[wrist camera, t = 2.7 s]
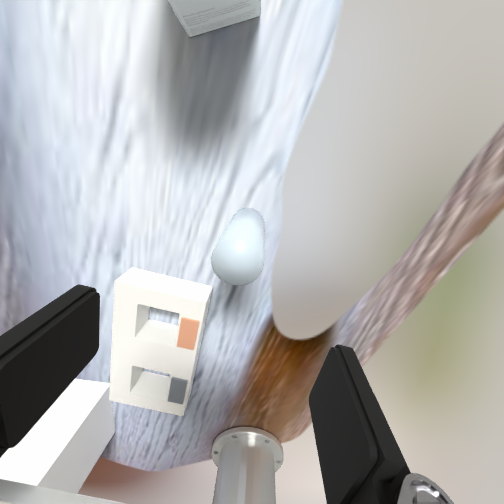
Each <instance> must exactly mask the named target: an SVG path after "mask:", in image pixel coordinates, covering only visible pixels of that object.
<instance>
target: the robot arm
mask: <svg viewBox="0 0 504 504" xmlns="http://www.w3.org/2000/svg"><path fill="white" fill-rule="evenodd" d="M99 315H100V295H99V293H97V292H96V289H95V288H92V287H88V286H84V285H76V286H75V287H73V288H72V289H70V290H69V291H67V292H66V293H64V294H63V295H61V296H60V297H58V298H57V299H55V300H54V301H52V302H51V303H49V304H48V305H46V306H45V307H43V308H42V309H40V310H39V311H37V312H36V313H34V314H33V315H31V316H30V317H28V318H27V319H25V320H24V321H22V322H21V323H19V324H18V325H16V326H15V327H13V328H12V329H10V330H9V331H7V332H6V333H4V334H3V335H1V336H0V458H1V457H2V455H3V454H4V453H5V452H6V451H7V450H8V449H9V448H13V447H15V446H16V445H17V444H18V443H19V442H20V441H21V440H22V439H23V438H24V437H25V436H26V434H27V433H28V432H29V431H30V430H31V429H32V428H33V426H34V425H35V424H36V423H37V422H38V421H39V419H40V418H41V417H42V416H43V415H44V414H45V413H46V411H47V410H48V409H49V408H50V407H51V406H52V404H53V403H54V402H55V401H56V400H57V399H58V398H59V396H60V395H61V394H62V393H63V392H64V391H65V390H66V388H67V387H68V386H69V385H70V384H71V383H72V381H73V380H74V379H75V378H76V377H77V376H78V375H79V373H80V372H81V371H82V370H83V369H84V368H85V366H86V365H87V364H88V363H89V362H90V361H91V360H92V358H93V357H94V356H95V355H96V353H97V351H98V348H99ZM309 406H310V411H311V417H312V422H313V428H314V433H315V439H316V445H317V450H318V456H319V462H320V467H321V473H322V478H323V484H324V489H325V494H326V500H327V504H454V503H453V501H452V500H451V499H450V498H449V497H448V495H447V494H446V493H445V492H444V491H443V490H442V489H441V488H440V487H439V486H438V485H437V484H436V483H434V482H433V481H431V480H430V479H429V478H427V477H425V476H423V475H420V474H416V473H411V472H410V470H409V468H408V466H407V464H406V462H405V459H404V458H403V455H402V453H401V451H400V449H399V447H398V444H397V442H396V440H395V438H394V436H393V434H392V431H391V429H390V427H389V425H388V423H387V421H386V418H385V416H384V414H383V412H382V410H381V408H380V405H379V403H378V401H377V399H376V397H375V395H374V393H373V392H372V389H371V387H370V385H369V383H368V380H367V378H366V376H365V374H364V372H363V369H362V367H361V365H360V363H359V361H358V359H357V356H356V354H355V352H354V350H353V349H352V348H351V347H346V346H342V345H336V346H335V348H334V347H332V348H331V349H330V350H329V353H328V355H327V357H326V359H325V361H324V364H323V366H322V368H321V370H320V373H319V375H318V377H317V379H316V381H315V384H314V386H313V388H312V390H311V392H310V396H309ZM211 453H212V458H213V461H214V463H215V464H216V466H217V467H218V471H217V478H216V484H215V491H214V498H213V503H212V504H276V496H275V472H276V471H277V470H278V469H279V468H280V467H281V465H282V463H283V449H282V446H281V444H280V442H279V441H278V440H277V438H275V437H274V436H273V435H272V434H270V433H268V432H266V431H264V430H261V429H258V428H254V427H236V428H231V429H229V430H226V431H224V432H223V433H221V434H220V435H219V436H217V438H216V439H215V440H214V443H213V446H212V452H211ZM0 504H126V503H122V502H117V501H111V500H106V499H102V498H96V497H91V496H86V495H81V494H76V493H71V492H66V491H61V490H56V489H50V488H45V487H40V486H35V485H30V484H25V483H20V482H15V481H9V480H4V479H0Z"/></svg>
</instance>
